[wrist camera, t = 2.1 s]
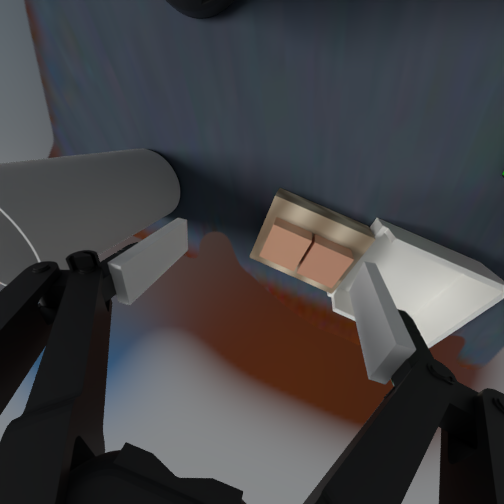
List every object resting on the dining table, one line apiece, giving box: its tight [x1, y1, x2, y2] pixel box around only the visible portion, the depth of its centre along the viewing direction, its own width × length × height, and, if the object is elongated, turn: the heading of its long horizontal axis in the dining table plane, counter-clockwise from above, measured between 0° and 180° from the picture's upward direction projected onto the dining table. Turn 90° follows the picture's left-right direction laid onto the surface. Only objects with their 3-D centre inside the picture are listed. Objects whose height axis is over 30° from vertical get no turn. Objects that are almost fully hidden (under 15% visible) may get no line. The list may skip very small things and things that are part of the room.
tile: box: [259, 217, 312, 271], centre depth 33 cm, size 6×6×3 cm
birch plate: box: [250, 188, 376, 294], centre depth 36 cm, size 16×12×5 cm
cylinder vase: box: [0, 149, 180, 286], centre depth 30 cm, size 12×12×25 cm
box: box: [327, 218, 504, 348], centre depth 35 cm, size 18×16×7 cm
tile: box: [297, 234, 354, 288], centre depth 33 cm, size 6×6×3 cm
